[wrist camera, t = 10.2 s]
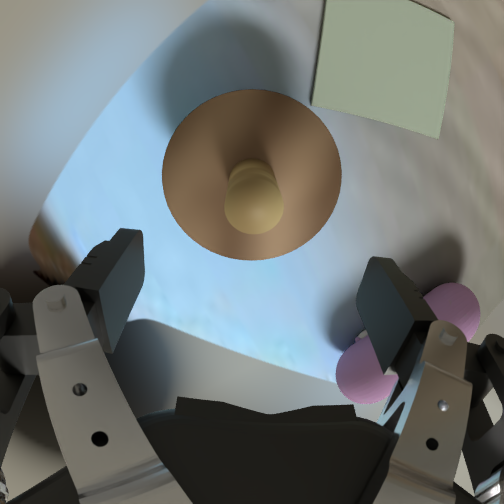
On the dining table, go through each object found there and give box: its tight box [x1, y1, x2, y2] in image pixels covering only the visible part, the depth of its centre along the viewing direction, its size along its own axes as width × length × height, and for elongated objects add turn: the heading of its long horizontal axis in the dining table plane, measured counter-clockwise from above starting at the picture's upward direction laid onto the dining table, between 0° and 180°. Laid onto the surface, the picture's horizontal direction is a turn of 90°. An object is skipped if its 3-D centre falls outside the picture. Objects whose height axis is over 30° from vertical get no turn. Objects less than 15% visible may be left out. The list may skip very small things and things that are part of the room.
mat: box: [311, 0, 454, 139], centre depth 21 cm, size 13×13×1 cm
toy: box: [336, 283, 480, 404], centre depth 33 cm, size 8×9×20 cm
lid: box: [162, 89, 342, 260], centre depth 18 cm, size 12×12×6 cm
